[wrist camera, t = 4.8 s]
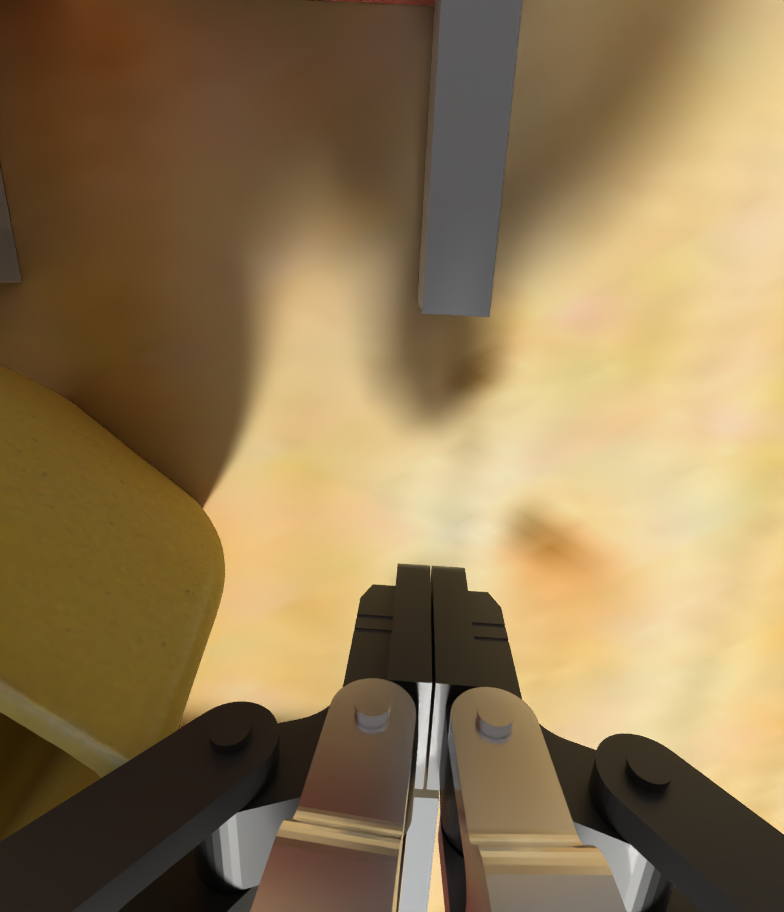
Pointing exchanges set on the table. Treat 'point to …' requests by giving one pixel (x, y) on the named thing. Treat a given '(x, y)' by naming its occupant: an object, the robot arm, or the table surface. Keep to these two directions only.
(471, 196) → the box
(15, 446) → the flower pot
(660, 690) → the table surface
